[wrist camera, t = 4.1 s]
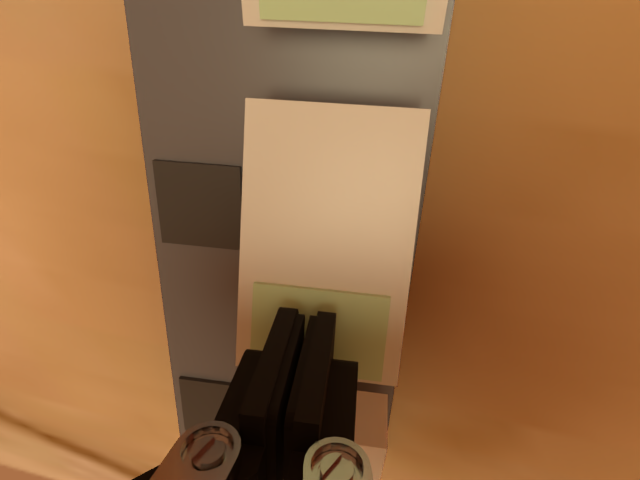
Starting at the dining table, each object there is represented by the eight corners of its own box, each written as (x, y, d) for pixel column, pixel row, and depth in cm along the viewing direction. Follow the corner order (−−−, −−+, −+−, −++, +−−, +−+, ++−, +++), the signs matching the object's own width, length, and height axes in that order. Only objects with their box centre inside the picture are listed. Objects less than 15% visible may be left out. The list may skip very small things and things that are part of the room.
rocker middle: (421, 117, 13) (432, 108, 11) (393, 356, 14) (397, 390, 12) (263, 107, 13) (243, 96, 11) (253, 338, 15) (233, 368, 13)
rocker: (387, 394, 15) (387, 455, 13) (368, 489, 20) (366, 543, 18) (253, 377, 16) (236, 433, 14) (267, 474, 20) (255, 524, 19)
